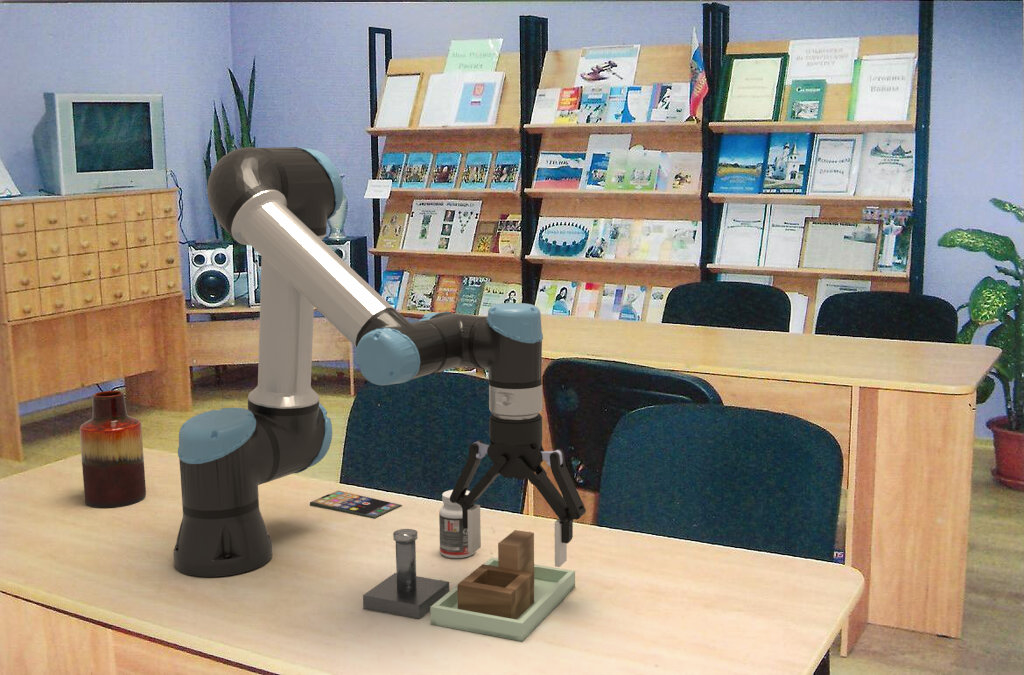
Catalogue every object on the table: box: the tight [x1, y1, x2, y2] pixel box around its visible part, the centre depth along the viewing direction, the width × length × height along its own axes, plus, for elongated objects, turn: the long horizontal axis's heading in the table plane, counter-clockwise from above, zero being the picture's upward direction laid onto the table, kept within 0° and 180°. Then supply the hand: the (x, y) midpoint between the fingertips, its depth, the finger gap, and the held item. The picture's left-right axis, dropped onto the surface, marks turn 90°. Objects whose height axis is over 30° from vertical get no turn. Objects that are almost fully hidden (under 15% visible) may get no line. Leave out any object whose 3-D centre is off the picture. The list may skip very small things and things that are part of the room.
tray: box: [430, 557, 576, 642], centre depth 151 cm, size 14×20×2 cm
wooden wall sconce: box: [456, 529, 535, 620], centre depth 150 cm, size 14×8×8 cm, turn 156°
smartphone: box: [309, 490, 403, 520], centre depth 195 cm, size 8×15×1 cm, turn 59°
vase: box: [79, 390, 147, 509], centre depth 198 cm, size 11×11×20 cm
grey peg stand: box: [362, 528, 450, 620], centre depth 151 cm, size 9×9×10 cm
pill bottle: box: [438, 489, 474, 559], centre depth 170 cm, size 6×6×10 cm
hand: (516, 556), depth 154 cm, fingers open, 13 cm apart
